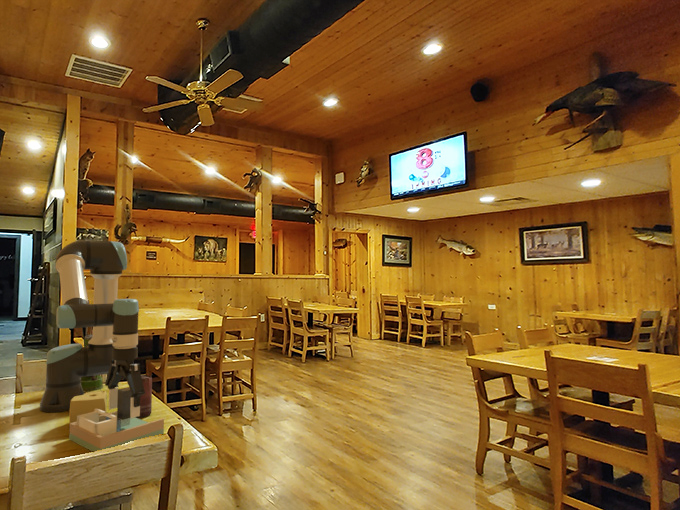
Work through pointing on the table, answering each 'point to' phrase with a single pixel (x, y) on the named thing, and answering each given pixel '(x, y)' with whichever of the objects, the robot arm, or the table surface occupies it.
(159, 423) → the pinkish brown tray
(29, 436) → the table surface
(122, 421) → the block
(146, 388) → the can
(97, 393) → the cheese
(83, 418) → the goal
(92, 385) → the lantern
